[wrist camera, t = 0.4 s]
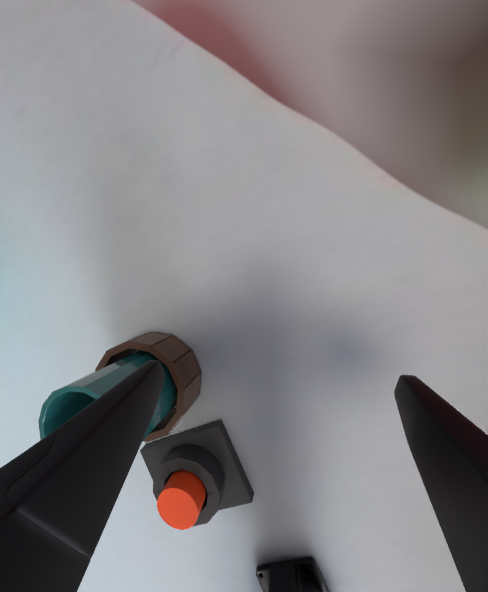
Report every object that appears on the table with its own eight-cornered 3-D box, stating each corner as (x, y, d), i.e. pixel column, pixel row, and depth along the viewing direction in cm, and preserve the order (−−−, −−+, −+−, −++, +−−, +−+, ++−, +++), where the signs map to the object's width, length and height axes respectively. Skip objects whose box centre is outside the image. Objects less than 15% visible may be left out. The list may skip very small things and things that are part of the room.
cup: (199, 393, 25) (139, 469, 15) (148, 412, 26) (63, 492, 16) (173, 335, 25) (97, 372, 15) (123, 356, 26) (24, 404, 16)
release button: (195, 465, 23) (186, 483, 21) (212, 503, 23) (205, 525, 21) (162, 474, 23) (150, 493, 21) (178, 511, 23) (167, 533, 21)
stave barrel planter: (214, 400, 24) (200, 424, 21) (143, 426, 26) (118, 451, 23) (178, 319, 25) (157, 327, 21) (110, 350, 27) (79, 363, 23)
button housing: (221, 419, 24) (211, 438, 22) (254, 493, 24) (249, 523, 21) (145, 444, 27) (127, 465, 24) (175, 512, 26) (160, 542, 24)
